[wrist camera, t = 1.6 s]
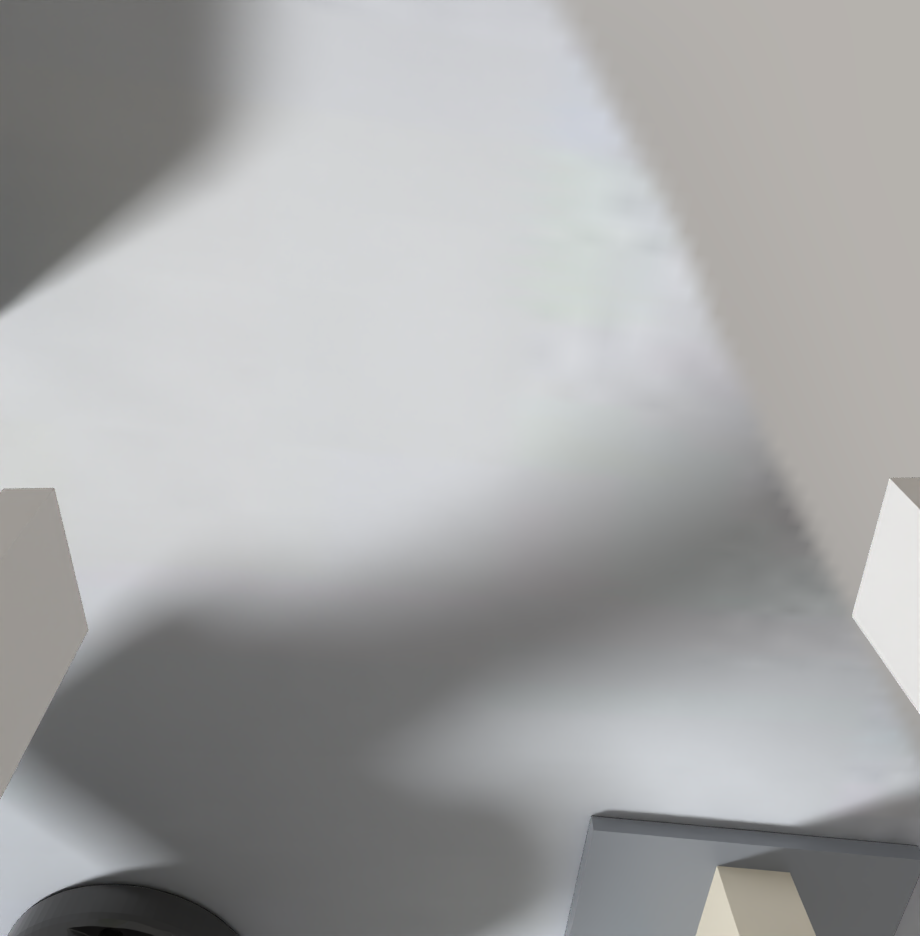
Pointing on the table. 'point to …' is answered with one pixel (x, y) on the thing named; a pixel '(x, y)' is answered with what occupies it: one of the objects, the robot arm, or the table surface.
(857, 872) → the ticket stand
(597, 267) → the table surface
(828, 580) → the table surface
